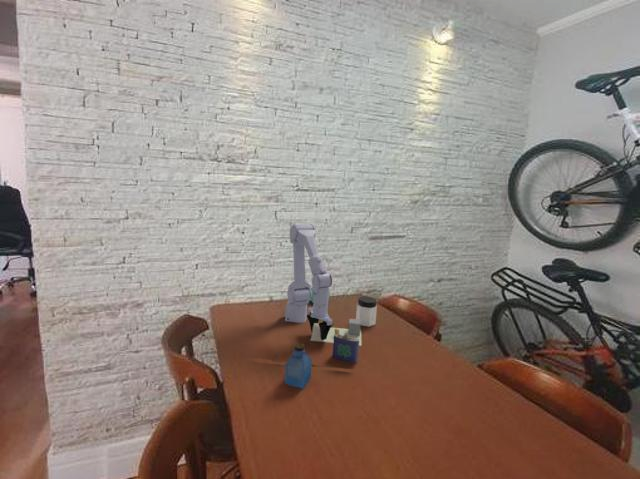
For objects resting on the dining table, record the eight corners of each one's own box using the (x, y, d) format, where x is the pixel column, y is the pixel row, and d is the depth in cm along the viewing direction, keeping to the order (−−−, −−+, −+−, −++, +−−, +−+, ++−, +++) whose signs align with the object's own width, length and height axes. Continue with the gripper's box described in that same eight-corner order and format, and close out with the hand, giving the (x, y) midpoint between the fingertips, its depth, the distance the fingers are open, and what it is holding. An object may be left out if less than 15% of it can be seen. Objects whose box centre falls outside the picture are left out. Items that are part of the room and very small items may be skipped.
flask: (358, 362, 117) (360, 334, 115) (356, 366, 114) (358, 337, 113) (333, 356, 120) (335, 328, 119) (330, 360, 118) (332, 332, 116)
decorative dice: (317, 298, 181) (318, 284, 180) (329, 301, 177) (330, 287, 176) (308, 301, 175) (309, 287, 174) (320, 305, 170) (321, 290, 169)
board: (309, 342, 130) (310, 333, 129) (314, 327, 143) (315, 319, 143) (361, 348, 128) (362, 338, 127) (361, 332, 141) (361, 323, 141)
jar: (366, 330, 144) (368, 303, 142) (352, 324, 150) (354, 298, 148) (378, 325, 150) (380, 299, 148) (364, 319, 156) (366, 294, 154)
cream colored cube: (312, 339, 130) (312, 327, 129) (313, 334, 135) (314, 323, 134) (323, 340, 130) (324, 328, 129) (324, 335, 134) (325, 324, 133)
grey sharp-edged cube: (348, 334, 136) (349, 323, 136) (348, 329, 141) (349, 318, 140) (359, 335, 136) (360, 324, 135) (359, 330, 140) (360, 319, 140)
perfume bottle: (310, 378, 106) (312, 343, 104) (303, 389, 100) (305, 352, 98) (292, 373, 108) (294, 339, 106) (284, 384, 102) (286, 347, 100)
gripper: (302, 298, 133) (300, 330, 136) (322, 311, 122) (320, 345, 124) (317, 296, 137) (315, 327, 140) (337, 308, 125) (335, 341, 128)
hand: (318, 335), depth 132 cm, fingers closed on cream colored cube, 6 cm apart
